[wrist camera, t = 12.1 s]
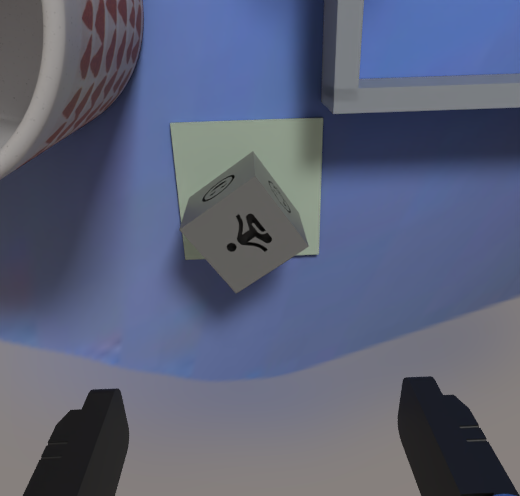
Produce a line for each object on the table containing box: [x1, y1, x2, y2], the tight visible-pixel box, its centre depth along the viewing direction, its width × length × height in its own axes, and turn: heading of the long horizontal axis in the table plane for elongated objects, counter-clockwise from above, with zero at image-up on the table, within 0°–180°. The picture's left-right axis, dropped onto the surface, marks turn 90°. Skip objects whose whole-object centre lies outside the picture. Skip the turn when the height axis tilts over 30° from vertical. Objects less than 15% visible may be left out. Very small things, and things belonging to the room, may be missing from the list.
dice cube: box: [179, 151, 309, 293], centre depth 27 cm, size 5×5×5 cm
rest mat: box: [170, 118, 323, 260], centre depth 29 cm, size 9×9×1 cm
